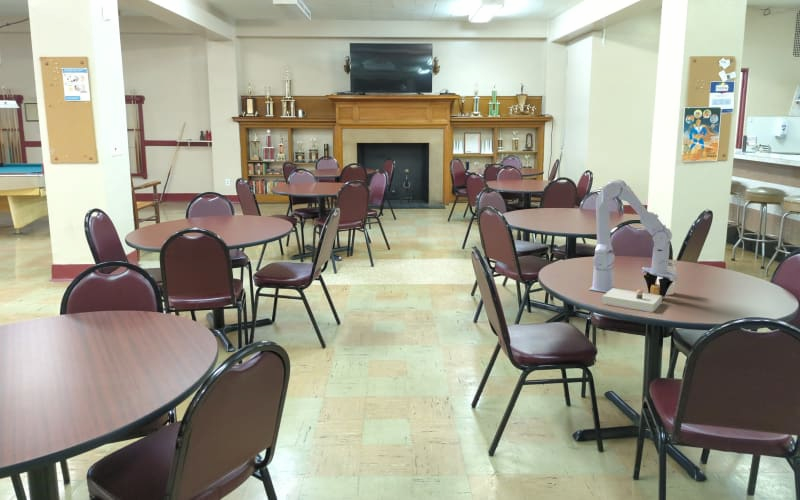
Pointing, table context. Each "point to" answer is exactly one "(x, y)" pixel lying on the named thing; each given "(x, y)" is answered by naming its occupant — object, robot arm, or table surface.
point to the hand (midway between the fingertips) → (656, 294)
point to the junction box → (632, 299)
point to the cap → (655, 289)
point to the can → (670, 290)
